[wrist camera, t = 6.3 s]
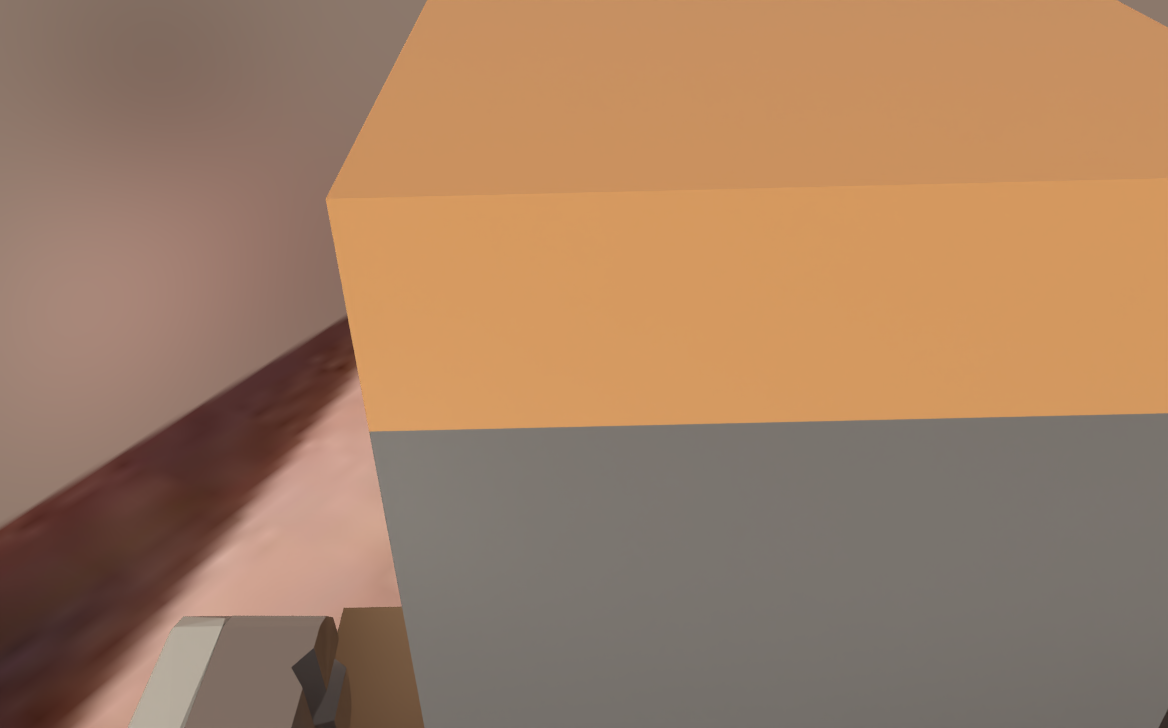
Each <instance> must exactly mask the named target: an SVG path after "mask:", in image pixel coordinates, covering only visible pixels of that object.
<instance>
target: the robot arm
mask: <svg viewBox="0 0 1168 728" xmlns="http://www.w3.org/2000/svg"><path fill="white" fill-rule="evenodd" d="M338 642H339V636H338V633H337V629H336V626H335V623H334V619H333V617H328V616H199V617H183V618H182V619H181V620H180V621H179V622H178V623H177V624H176V625H175V626H174V627H173V629H172V630H171V631H170V633H169V636H168V638H167V640H166V642H165V645H164V647H163V649H162V651H161V654H160V656H159V658H158V661H157V663H156V665H155V667H154V670H153V672H152V674H151V676H150V679H149V681H148V683H147V685H146V688H145V690H144V692H143V694H142V697H141V699H140V701H139V703H138V706H137V708H136V710H135V712H134V715H133V717H132V719H131V721H130V724H129V726H128V728H350V721H351V708H352V700H351V688H350V681H349V676H348V672H347V668H346V667H345V666H344V665H343V664H341V663H340V662H339V661H337V660H336V659H335V655H336V651H337V646H338ZM1159 728H1168V710H1167V712H1166V714H1165V716H1164V718H1163V720H1162V722H1161V724H1160V726H1159Z"/></svg>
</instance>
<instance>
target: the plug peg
mask: <svg viewBox="0 0 1168 728" xmlns="http://www.w3.org/2000/svg"><path fill="white" fill-rule="evenodd" d="M326 202H327V208H328V213H329V218H330V223H331V229H332V234H333V240H334V245H335V251H336V256H337V261H338V267H339V271H340V277H341V283H342V288H343V293H344V299H345V304H346V309H347V315H348V320H349V326H350V331H351V336H352V342H353V347H354V352H355V358H356V363H357V368H358V374H359V379H360V384H361V390H362V395H363V401H364V406H365V411H366V417H367V422H368V427H369V433H370V438H371V443H372V449H373V454H374V459H375V465H376V470H377V476H378V481H379V486H380V492H381V497H382V502H383V508H384V513H385V518H386V524H387V529H388V534H389V540H390V545H391V551H392V556H393V561H394V567H395V572H396V577H397V583H398V588H399V593H400V599H401V604H402V610H403V615H404V620H405V626H406V631H407V636H408V642H409V647H410V652H411V658H412V663H413V668H414V674H415V679H416V685H417V690H418V695H419V701H420V706H421V711H422V717H423V722H424V727H425V728H1159V726H1160V724H1161V722H1162V720H1163V718H1164V716H1165V714H1166V712H1167V710H1168V27H1166V26H1164V25H1162V24H1160V23H1158V22H1156V21H1155V20H1153V19H1151V18H1149V17H1147V16H1145V15H1143V14H1141V13H1140V12H1138V11H1136V10H1134V9H1132V8H1130V7H1128V6H1126V5H1125V4H1123V3H1121V2H1119V1H1117V0H427V2H426V4H425V6H424V8H423V9H422V11H421V13H420V15H419V17H418V19H417V21H416V23H415V25H414V27H413V29H412V31H411V33H410V35H409V37H408V39H407V41H406V43H405V45H404V47H403V49H402V51H401V53H400V55H399V57H398V59H397V60H396V62H395V64H394V66H393V69H392V70H391V72H390V74H389V76H388V78H387V80H386V82H385V84H384V86H383V88H382V90H381V92H380V94H379V96H378V98H377V100H376V102H375V104H374V105H373V107H372V109H371V112H370V114H369V115H368V117H367V119H366V121H365V123H364V125H363V127H362V129H361V131H360V133H359V135H358V137H357V139H356V141H355V143H354V145H353V147H352V149H351V151H350V153H349V155H348V157H347V159H346V160H345V162H344V164H343V166H342V168H341V170H340V172H339V174H338V176H337V178H336V180H335V182H334V184H333V186H332V188H331V190H330V192H329V194H328V196H327V198H326Z"/></svg>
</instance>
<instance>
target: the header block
mask: <svg viewBox="0 0 1168 728" xmlns="http://www.w3.org/2000/svg"><path fill="white" fill-rule="evenodd" d="M338 636H339V642H338V646H337V651H336V655H335V659H336V660H337V661H339V662H340V663H341V664H343V665H344V666H345V667H346V668H347V672H348V676H349V681H350V688H351V700H352V708H351V721H350V728H425V727H424V722H423V717H422V711H421V706H420V701H419V695H418V690H417V685H416V679H415V674H414V668H413V663H412V658H411V652H410V647H409V642H408V636H407V631H406V626H405V620H404V615H403V610H402V607H369V608H344V609H343V613H342V617H341V621H340V625H339V629H338Z"/></svg>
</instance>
